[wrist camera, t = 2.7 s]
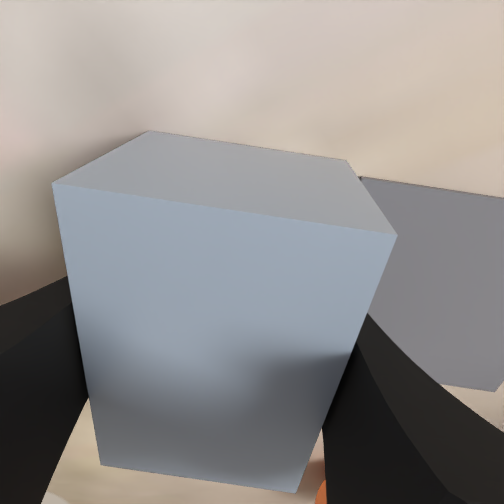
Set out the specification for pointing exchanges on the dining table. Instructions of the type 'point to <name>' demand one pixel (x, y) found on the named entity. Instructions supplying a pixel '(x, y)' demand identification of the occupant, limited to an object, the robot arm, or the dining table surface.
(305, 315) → the pale grey-blue block
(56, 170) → the dining table surface
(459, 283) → the tape square
